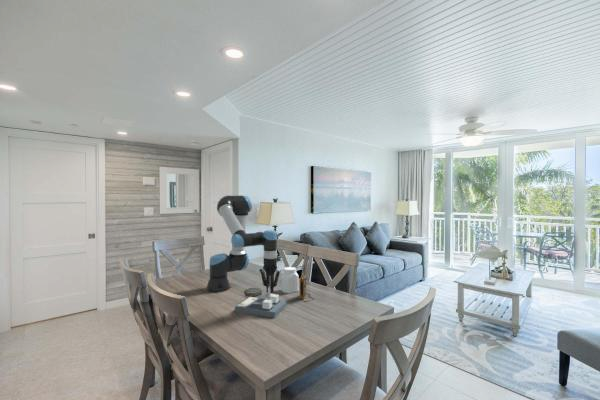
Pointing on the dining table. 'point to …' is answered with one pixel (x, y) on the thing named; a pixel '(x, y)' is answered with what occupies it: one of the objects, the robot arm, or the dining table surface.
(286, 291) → the jar
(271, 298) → the far slider
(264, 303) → the near slider
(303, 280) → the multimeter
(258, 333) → the dining table surface
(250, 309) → the switch panel
